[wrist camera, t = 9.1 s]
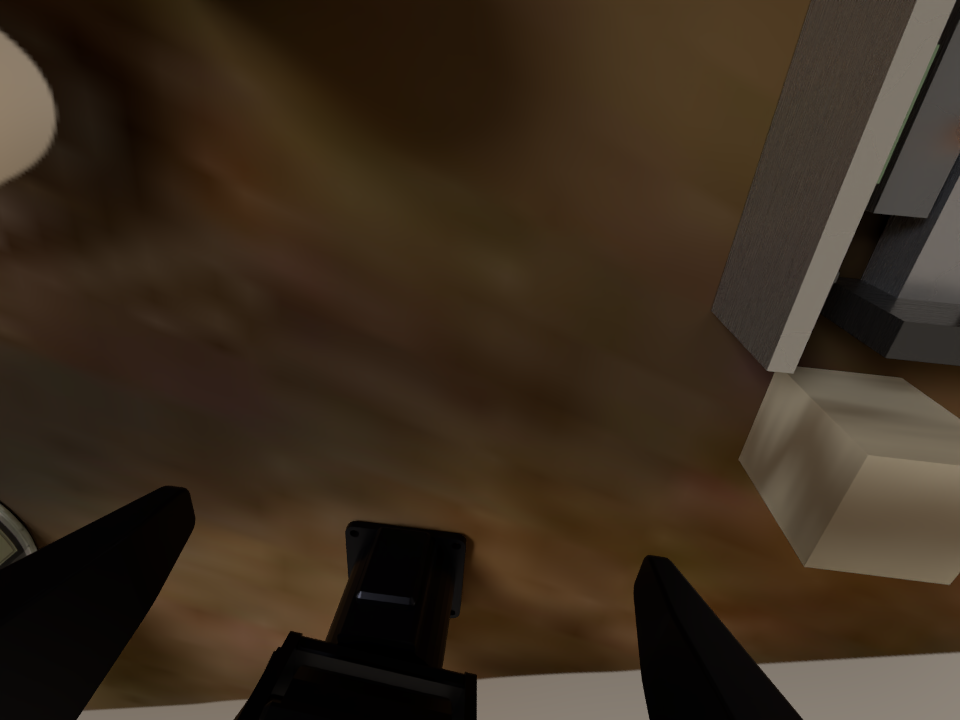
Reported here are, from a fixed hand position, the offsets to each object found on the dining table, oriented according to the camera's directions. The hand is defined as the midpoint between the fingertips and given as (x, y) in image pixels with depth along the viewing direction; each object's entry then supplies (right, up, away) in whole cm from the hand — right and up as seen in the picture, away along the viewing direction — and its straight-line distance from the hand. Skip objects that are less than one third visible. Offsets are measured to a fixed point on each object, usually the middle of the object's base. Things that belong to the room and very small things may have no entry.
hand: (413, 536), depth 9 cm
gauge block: (+16, +1, +12) cm, 20 cm away
